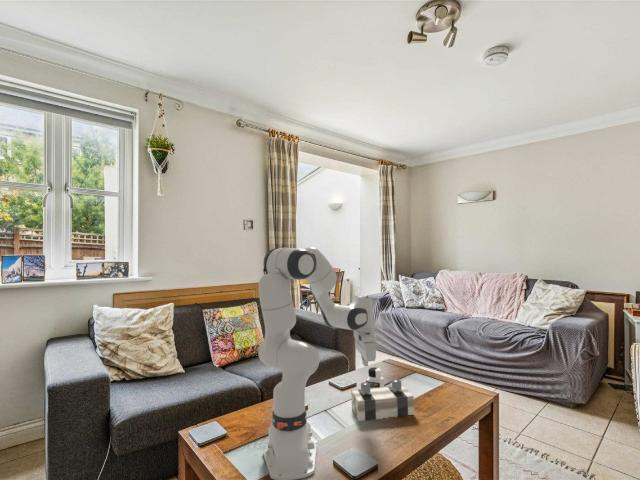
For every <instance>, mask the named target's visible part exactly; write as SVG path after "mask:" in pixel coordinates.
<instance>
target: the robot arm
mask: <svg viewBox="0 0 640 480" xmlns="http://www.w3.org/2000/svg"><path fill="white" fill-rule="evenodd" d="M263 258H264V259H263V269H262V271H263V274H264V275H263V276H261V277H260V279H259V281H258V296H259V297H258V298H259V304H260V308H261V313H262V318H263V324H264V337H263V340H262V341H261V343H260V345H259V347H258V351H257V355H258V358H259V360H260V361H261V363H263V364H265V365H266V366H267V367H269V368H272V369H275V370H278V371H281V372H282V373H281V374H282V377H281V381H280V382H278V383H277V384H276V385H275V387H274V388H273V392H272V394H273V395H272V396H273V399H272V400H273V410H272V416H271V419H272V423H271V425H270V427H269V428H268V446H267V447H266V448H265V449H264V450H263V452H262V453H263V454H262V455H263V458H264V461H265V465H266V468H267V471H268V474H269V477H270V479H272V480H300V479H304V478H307V477H310V476H312V475H314V474H315V472H316V464H317V453H318V446H317V444H315V442H314V441H313V440H312V437H313V432H312V429H311V424H310V423H309V422H308V420H307V417H308V416H307V408H306V406H305V404H306V402H305V401H306V395H305V394H306V393H305V392H306V386H307V382H308V380H309V378H310V376H312V375H313V374H314V373H315V372H316V371H317V369H318V368H319V364H320V361H321V360H320V353H319V350H318V349H317V348H316V347H315V346H313V345H312V344H309V343H307V342H305V341H301V340H295V339H292V337H291V330H292V329H293V328H294V327H295V325H296V323H297V316H296V311H295V310H296V309H295V306H294V302H293V297H292V293H291V290H290V289H291V288H290V285H291V280H304V279H305V280H306V282H307V283H308V284H309V289H310V293H311V295H312V297H313V299H314V300H315V302H316V303H317V306H318V307H319V310H320V312H321V314H322V317H323V318H322V319H323V321H324V323H325V325H326V326H327V327H329V328H336V329H337V328H338V329H344V330H350V331H353V338H354V346H355V349H356V350H357V351H358V353H359V355H360V356H361V363H362V365H363V367H368V366H369V362H375V361H376V357H377V344H376V342H377V341H378V338H377V337H378V336H377V335H376V333H375V325H374V322H373V320H374V307H373V306H374V305H373V302H372V299H371V298H370V297H369V296H362V295H356V296H355V295H354V297H353V299H352V302H351V303H349V304H348V305H343V304H338V303H335V301H333V300H332V298H331V296H330V295H329V292H331V291H332V290H333V288H335V286H336V284H337V280H338V276H337V273H336V271H335V269H334V267H333V266H332V264H331V263H330V261H329V260H328V259H327V256H325V255H324V254H323V253H322V252H321V251H320V250H319V249H318V248H316V247H314V246H309V247H305V248H296V247H295V248H294V247H290V246H289V247H275V248H273V249H270V250H269V251H267V252H266V253H265V255H264V257H263Z"/></svg>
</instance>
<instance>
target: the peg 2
mask: <svg viewBox="0 0 640 480" xmlns="http://www.w3.org/2000/svg"><path fill="white" fill-rule="evenodd" d="M401 385H402V380H400V379H396V378H395V379H392V380H391V386H392V393H393V394H401V393H402V388H401Z"/></svg>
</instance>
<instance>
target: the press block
mask: <svg viewBox="0 0 640 480" xmlns="http://www.w3.org/2000/svg"><path fill="white" fill-rule="evenodd" d="M401 388H402V393H401V394H393V393H392V385H391V386H384V387H379V388H370V392H371V396H369V397H362V396H361V388H359V389H358V388H357V389H351V391H350V392H351V409H352V411H353V413H354V415H355V417H356V419H357V420H358V422H365V421H374V420H383V418H385V419H389V418H388V417H395V418H398V417H397V416H404V417H409V416H408V415H414V416H415V403H414V401H415V400H414V395H413V394H412V393H411V392H410V391H409V390H408V389H407V388H406V387H405V386H404V385H402V384H401Z"/></svg>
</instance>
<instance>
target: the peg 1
mask: <svg viewBox="0 0 640 480" xmlns="http://www.w3.org/2000/svg"><path fill="white" fill-rule="evenodd" d="M360 389H361V396H362V397H369V396H371V392H370V383H368V382H366V381H364V382H361V383H360Z"/></svg>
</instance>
